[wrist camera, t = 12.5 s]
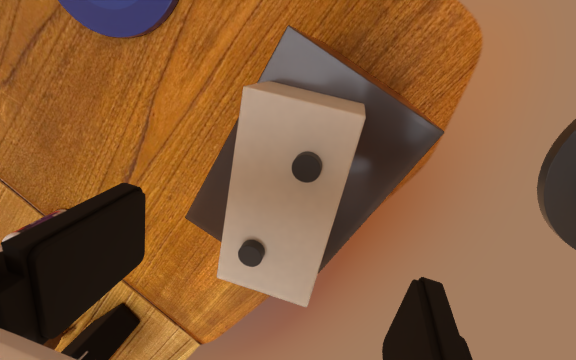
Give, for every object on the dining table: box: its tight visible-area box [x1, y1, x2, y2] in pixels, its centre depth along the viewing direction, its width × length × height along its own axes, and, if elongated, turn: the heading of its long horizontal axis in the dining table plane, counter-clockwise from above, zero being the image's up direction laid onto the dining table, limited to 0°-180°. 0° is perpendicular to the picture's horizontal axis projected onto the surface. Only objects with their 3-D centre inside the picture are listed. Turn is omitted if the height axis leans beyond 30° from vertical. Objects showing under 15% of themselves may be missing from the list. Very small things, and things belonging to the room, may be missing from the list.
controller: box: [217, 81, 366, 307], centre depth 15 cm, size 10×5×4 cm, turn 168°
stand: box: [185, 25, 444, 273], centre depth 24 cm, size 13×9×15 cm
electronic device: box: [61, 304, 140, 360], centre depth 45 cm, size 4×10×10 cm, turn 129°
